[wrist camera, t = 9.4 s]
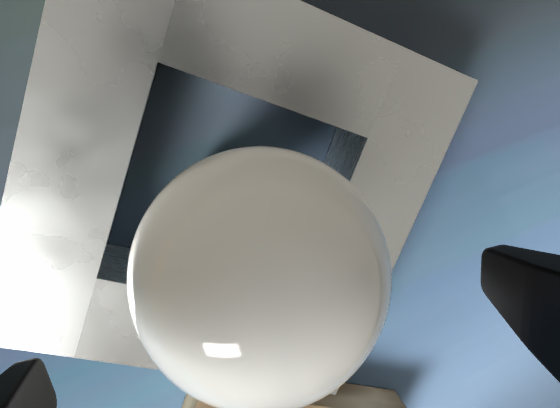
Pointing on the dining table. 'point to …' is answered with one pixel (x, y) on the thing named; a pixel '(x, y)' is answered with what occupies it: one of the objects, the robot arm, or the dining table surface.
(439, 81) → the socket
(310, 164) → the lightbulb
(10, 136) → the dining table surface
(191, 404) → the wooden picture frame
